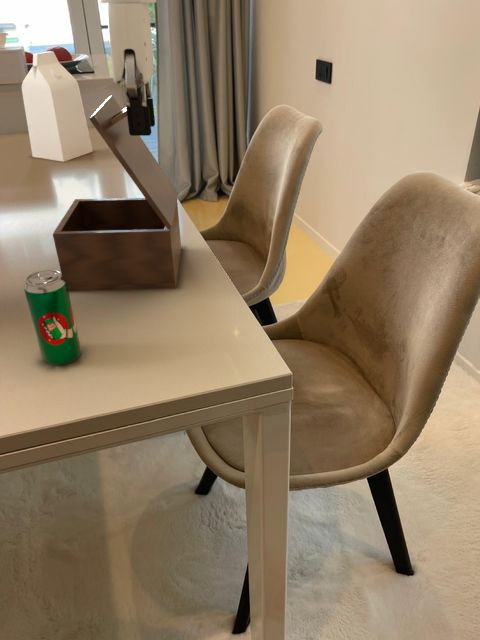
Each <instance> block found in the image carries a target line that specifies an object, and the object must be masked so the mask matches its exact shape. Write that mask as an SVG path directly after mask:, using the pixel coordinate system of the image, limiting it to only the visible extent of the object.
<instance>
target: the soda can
mask: <svg viewBox="0 0 480 640" xmlns="http://www.w3.org/2000/svg"><path fill="white" fill-rule="evenodd" d="M24 282H25V284H24V286H23V290H24V294H25V298H26V301H27V306H28V308H29V313H30V316H31V320H32V324H33V328H34V331H35V336H36V339H37V342H38V346H39V351H40V354H41V357H42V359H43V360H44V362H45V363H48V364H50V365H53V366H63V365H67V364H70V363H72V362H74V361H75V360H77V358H79V356H80V354H81V352H82V348H81V342H80V339H79V338H80V337H79V334H78V328H77V324H76V319H75V315H74V311H73V305H72V302H71V297H70V291H68V287H67V283H66V280H65V279H64V278H63V277H62V274H61V271H58V270H56V269H42V270H37V271H34V272H32V273H30V274H28V275H26V277H25V279H24Z"/></svg>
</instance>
